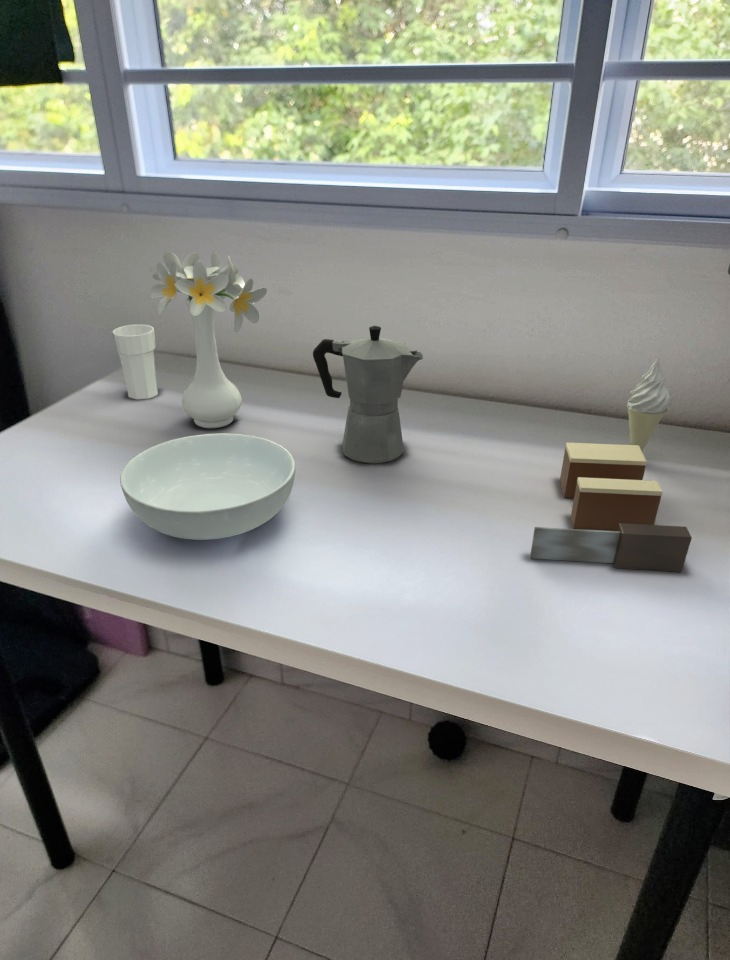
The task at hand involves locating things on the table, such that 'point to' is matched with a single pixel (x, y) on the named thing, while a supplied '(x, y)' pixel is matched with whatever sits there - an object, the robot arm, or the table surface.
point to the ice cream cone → (647, 405)
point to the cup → (137, 359)
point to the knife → (616, 546)
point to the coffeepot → (370, 393)
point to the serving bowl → (208, 484)
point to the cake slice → (614, 503)
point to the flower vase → (207, 328)
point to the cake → (600, 463)
